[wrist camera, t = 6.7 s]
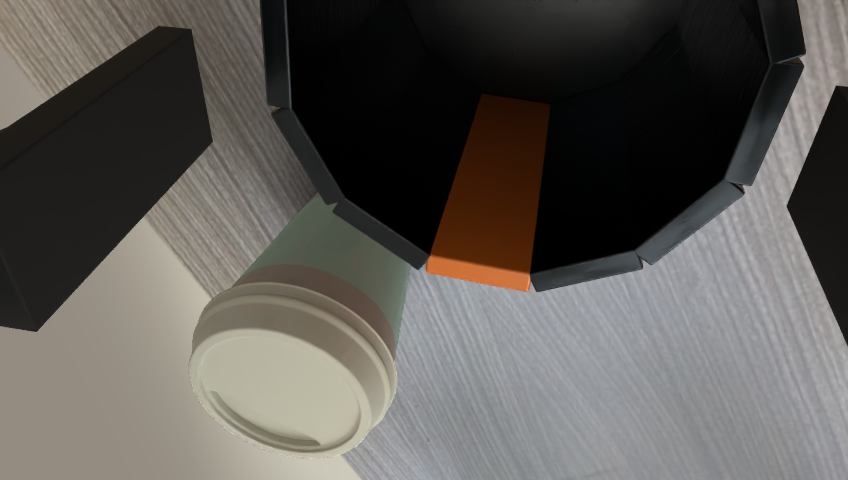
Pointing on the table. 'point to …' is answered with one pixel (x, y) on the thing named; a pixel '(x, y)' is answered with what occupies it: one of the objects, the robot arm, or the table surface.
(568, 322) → the table surface
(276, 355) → the coffee cup
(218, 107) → the table surface
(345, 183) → the bin
